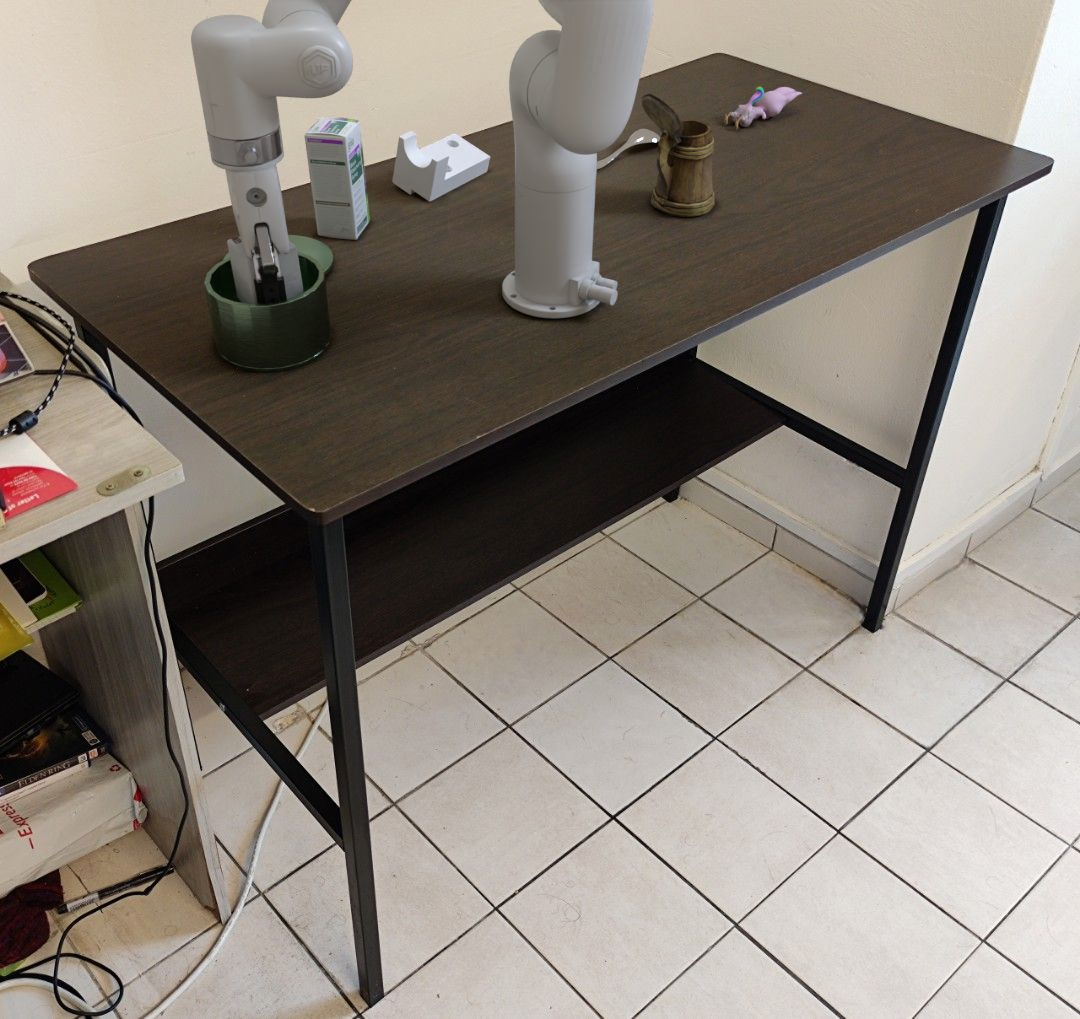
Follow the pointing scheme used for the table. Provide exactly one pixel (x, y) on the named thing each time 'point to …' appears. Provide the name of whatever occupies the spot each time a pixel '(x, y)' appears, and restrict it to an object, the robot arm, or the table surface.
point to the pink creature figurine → (762, 105)
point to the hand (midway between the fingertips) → (268, 292)
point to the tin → (269, 321)
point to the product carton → (246, 272)
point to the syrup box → (337, 177)
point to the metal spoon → (632, 144)
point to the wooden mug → (681, 162)
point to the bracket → (436, 165)
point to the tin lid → (311, 250)
